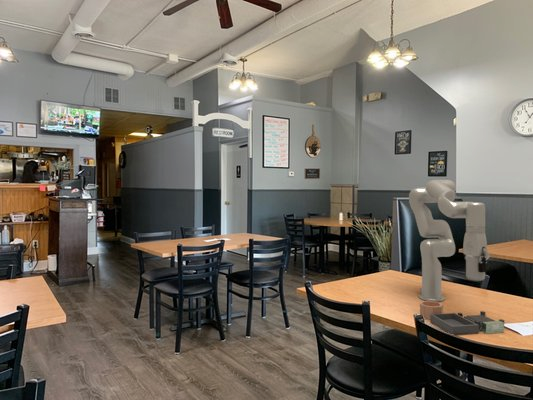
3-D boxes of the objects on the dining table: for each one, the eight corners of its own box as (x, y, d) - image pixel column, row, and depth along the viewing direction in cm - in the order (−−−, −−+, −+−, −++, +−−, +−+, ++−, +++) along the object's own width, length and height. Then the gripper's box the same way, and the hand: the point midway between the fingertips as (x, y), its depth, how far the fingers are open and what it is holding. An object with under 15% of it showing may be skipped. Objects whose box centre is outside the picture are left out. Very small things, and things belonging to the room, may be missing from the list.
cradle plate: (463, 320, 171) (463, 315, 171) (482, 319, 173) (482, 314, 173) (478, 327, 162) (478, 322, 162) (497, 326, 164) (497, 321, 164)
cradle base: (457, 321, 173) (457, 312, 173) (483, 320, 175) (483, 311, 175) (481, 334, 158) (481, 324, 158) (509, 332, 160) (509, 322, 160)
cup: (416, 314, 183) (416, 301, 183) (434, 313, 184) (434, 300, 184) (427, 320, 174) (427, 307, 174) (446, 319, 176) (446, 306, 175)
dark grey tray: (430, 322, 172) (430, 314, 172) (454, 320, 174) (454, 312, 174) (452, 335, 157) (452, 326, 157) (478, 333, 159) (478, 324, 159)
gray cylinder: (478, 277, 178) (478, 250, 178) (488, 281, 171) (488, 253, 170) (462, 277, 178) (462, 251, 178) (471, 281, 170) (472, 253, 170)
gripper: (455, 228, 182) (455, 267, 182) (481, 232, 165) (481, 274, 165) (469, 228, 183) (469, 266, 183) (497, 232, 166) (497, 273, 166)
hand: (475, 270), depth 174 cm, fingers closed on gray cylinder, 7 cm apart
